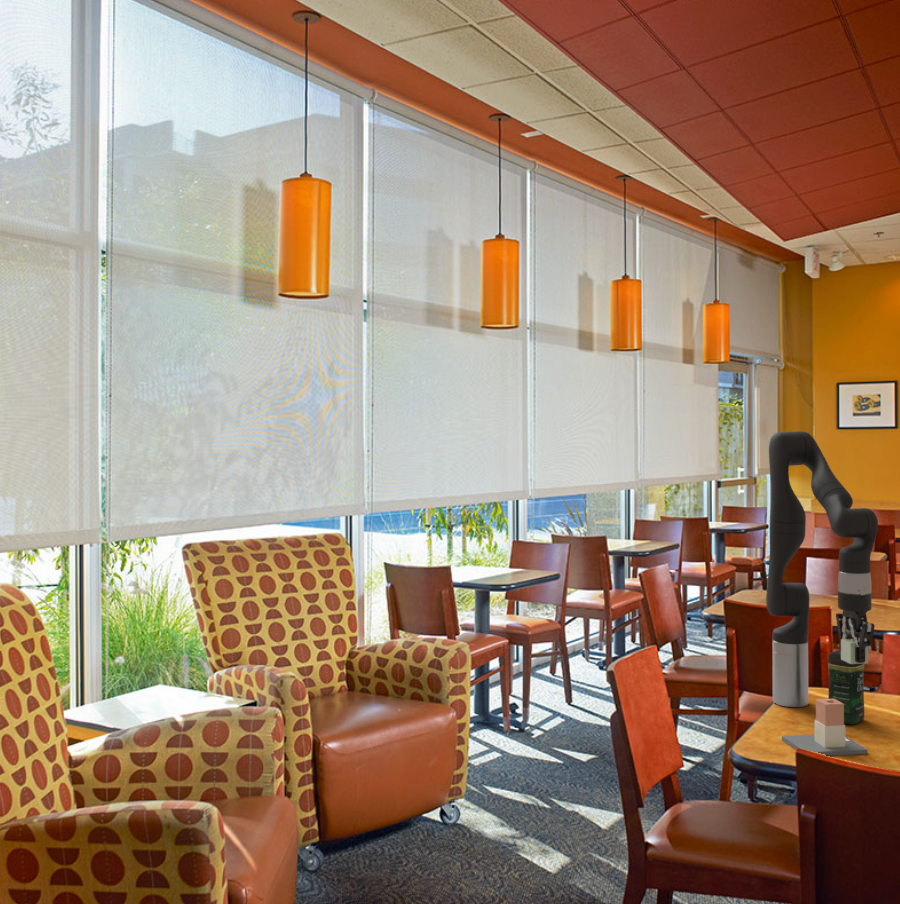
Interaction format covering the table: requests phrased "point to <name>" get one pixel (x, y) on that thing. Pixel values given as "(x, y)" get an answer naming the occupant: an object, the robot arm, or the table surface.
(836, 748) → the build board
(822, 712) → the brick terracotta
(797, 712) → the table surface
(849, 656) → the brick sage
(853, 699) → the coffee jar
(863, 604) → the robot arm
